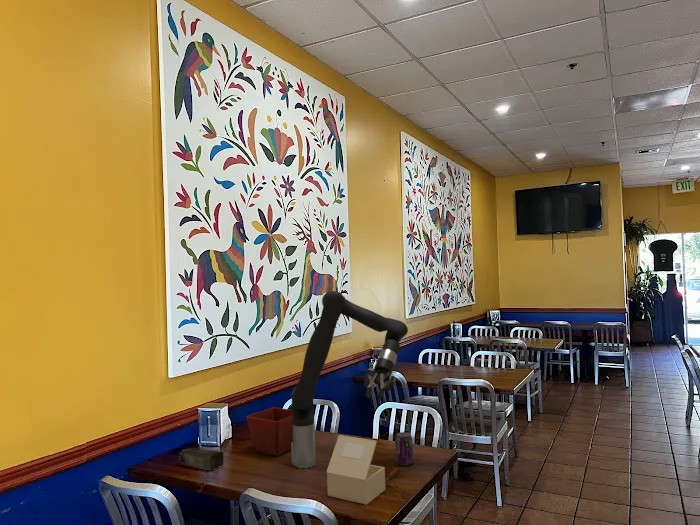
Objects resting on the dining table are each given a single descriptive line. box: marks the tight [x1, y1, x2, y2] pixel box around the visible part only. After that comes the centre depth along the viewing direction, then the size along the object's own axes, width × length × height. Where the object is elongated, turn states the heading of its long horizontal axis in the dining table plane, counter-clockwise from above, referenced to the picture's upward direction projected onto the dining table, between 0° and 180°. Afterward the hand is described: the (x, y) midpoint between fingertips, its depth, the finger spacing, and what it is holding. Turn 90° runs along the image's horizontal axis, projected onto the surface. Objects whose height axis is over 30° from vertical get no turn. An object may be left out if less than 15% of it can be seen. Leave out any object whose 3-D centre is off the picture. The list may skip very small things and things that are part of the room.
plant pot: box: [246, 406, 293, 456], centre depth 232 cm, size 19×19×17 cm
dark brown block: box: [178, 446, 225, 471], centre depth 216 cm, size 8×19×7 cm, turn 61°
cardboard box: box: [326, 464, 386, 505], centre depth 182 cm, size 16×14×8 cm
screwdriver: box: [385, 467, 401, 483], centre depth 194 cm, size 16×1×2 cm, turn 152°
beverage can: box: [394, 431, 414, 467], centre depth 210 cm, size 7×7×12 cm
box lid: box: [326, 434, 378, 481], centre depth 180 cm, size 16×14×1 cm
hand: (373, 397), depth 200 cm, fingers open, 4 cm apart
